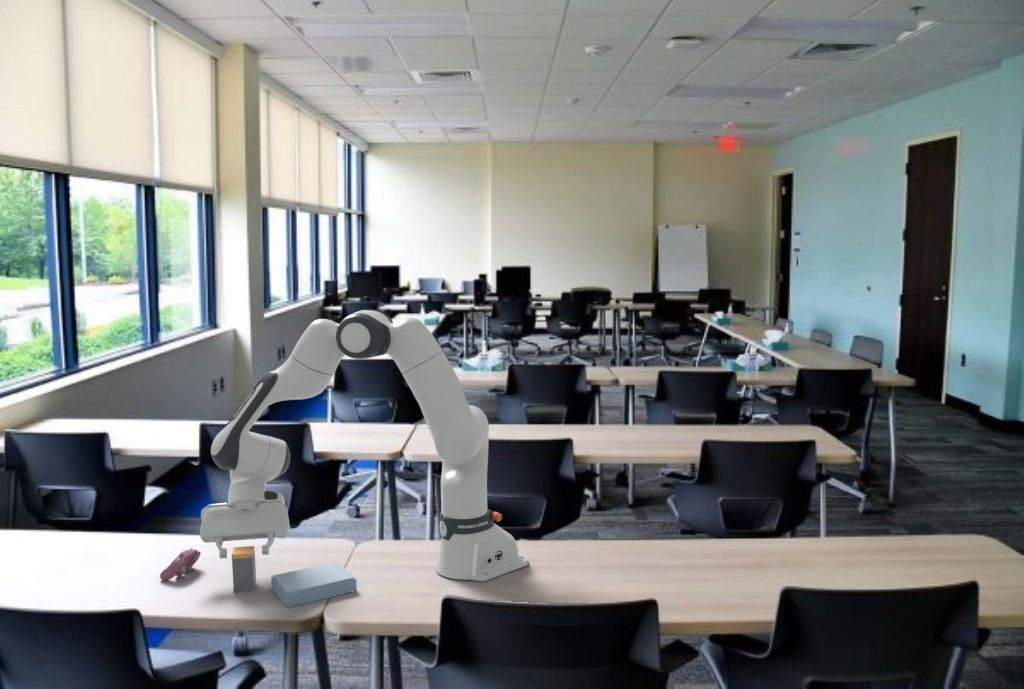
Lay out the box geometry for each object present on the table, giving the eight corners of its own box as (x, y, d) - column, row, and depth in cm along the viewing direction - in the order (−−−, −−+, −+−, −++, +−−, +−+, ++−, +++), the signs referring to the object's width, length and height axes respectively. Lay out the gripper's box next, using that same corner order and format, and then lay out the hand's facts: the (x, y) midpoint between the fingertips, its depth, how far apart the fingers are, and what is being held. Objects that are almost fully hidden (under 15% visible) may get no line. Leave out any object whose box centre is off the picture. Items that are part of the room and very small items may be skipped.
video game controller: (173, 588, 196) (183, 564, 195) (156, 579, 197) (167, 554, 195) (196, 572, 206) (206, 548, 204) (181, 563, 206) (191, 539, 205)
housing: (236, 584, 194) (234, 547, 193) (256, 582, 195) (254, 545, 194) (233, 592, 190) (231, 554, 189) (254, 590, 191) (252, 552, 189)
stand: (338, 573, 200) (338, 560, 199) (356, 591, 190) (356, 577, 189) (271, 588, 191) (271, 575, 191) (286, 607, 181) (286, 593, 181)
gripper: (199, 498, 197) (194, 553, 189) (288, 492, 201) (288, 546, 193) (203, 511, 202) (199, 564, 194) (290, 505, 206) (290, 557, 198)
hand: (244, 555), depth 193 cm, fingers open, 8 cm apart
